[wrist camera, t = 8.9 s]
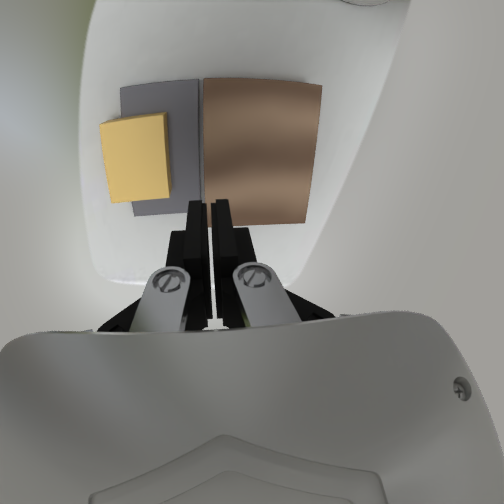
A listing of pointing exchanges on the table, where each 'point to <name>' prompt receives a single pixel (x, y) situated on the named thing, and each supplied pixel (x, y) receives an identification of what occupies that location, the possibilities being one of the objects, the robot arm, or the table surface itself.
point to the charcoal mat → (170, 139)
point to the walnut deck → (260, 147)
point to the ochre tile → (137, 157)
